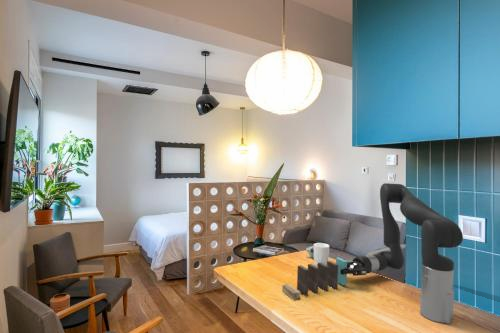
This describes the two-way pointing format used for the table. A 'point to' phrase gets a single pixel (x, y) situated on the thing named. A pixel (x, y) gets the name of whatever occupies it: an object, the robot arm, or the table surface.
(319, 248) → the white cup
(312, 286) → the domino
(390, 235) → the robot arm
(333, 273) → the domino
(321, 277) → the domino
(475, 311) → the table surface
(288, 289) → the end stop
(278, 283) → the table surface
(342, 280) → the domino
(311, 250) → the robot head
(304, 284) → the domino
